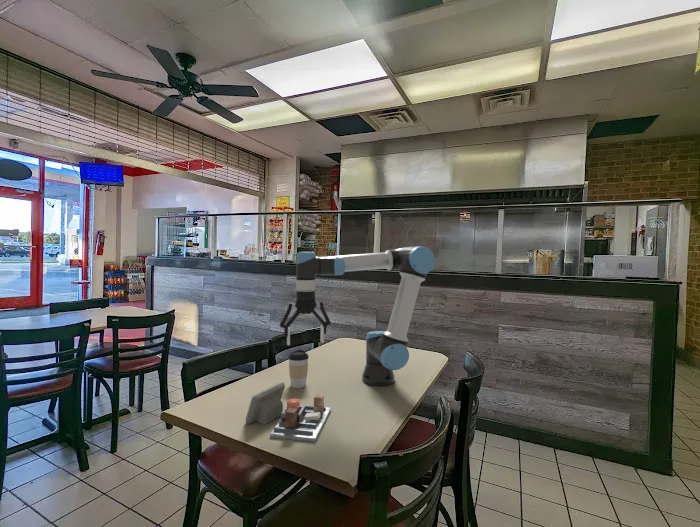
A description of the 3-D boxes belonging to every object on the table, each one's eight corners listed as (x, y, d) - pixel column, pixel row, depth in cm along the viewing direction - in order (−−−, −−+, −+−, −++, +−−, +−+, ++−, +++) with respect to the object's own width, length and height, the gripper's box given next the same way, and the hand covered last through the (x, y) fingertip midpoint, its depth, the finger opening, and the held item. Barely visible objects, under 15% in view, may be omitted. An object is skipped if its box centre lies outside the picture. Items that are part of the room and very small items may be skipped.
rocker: (320, 415, 120) (320, 411, 120) (318, 419, 117) (318, 415, 117) (307, 416, 120) (306, 413, 120) (304, 420, 118) (304, 417, 118)
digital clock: (277, 406, 133) (277, 378, 132) (292, 413, 127) (292, 384, 126) (239, 421, 120) (239, 391, 120) (254, 429, 114) (254, 398, 114)
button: (301, 407, 122) (301, 399, 121) (297, 413, 117) (297, 404, 117) (289, 406, 122) (289, 398, 122) (285, 411, 118) (285, 403, 118)
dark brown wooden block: (296, 425, 114) (297, 408, 114) (294, 430, 111) (294, 412, 111) (288, 425, 115) (288, 408, 115) (285, 429, 112) (285, 412, 112)
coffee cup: (304, 389, 149) (304, 355, 148) (285, 387, 150) (285, 354, 150) (311, 382, 157) (311, 350, 157) (292, 380, 159) (292, 348, 159)
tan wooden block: (323, 410, 126) (323, 394, 126) (321, 413, 123) (321, 397, 123) (315, 409, 127) (316, 393, 127) (313, 413, 124) (313, 397, 124)
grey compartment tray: (330, 410, 129) (330, 399, 129) (315, 442, 107) (315, 428, 107) (292, 407, 131) (292, 396, 131) (270, 437, 110) (270, 423, 110)
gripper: (333, 288, 143) (333, 338, 144) (272, 290, 136) (272, 343, 136) (338, 290, 136) (338, 343, 137) (274, 292, 128) (274, 348, 129)
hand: (305, 343), depth 136 cm, fingers open, 13 cm apart
